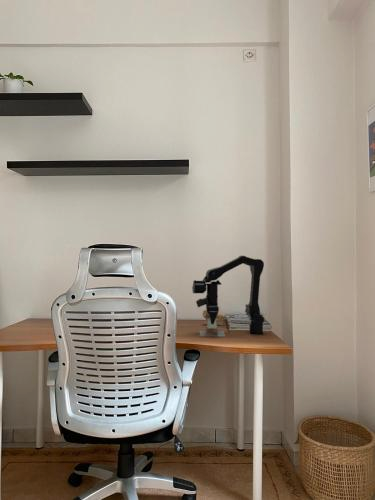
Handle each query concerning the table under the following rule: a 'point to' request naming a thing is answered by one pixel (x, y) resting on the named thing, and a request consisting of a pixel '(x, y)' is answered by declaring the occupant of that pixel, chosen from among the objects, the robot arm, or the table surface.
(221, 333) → the slate pad
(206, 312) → the lion figurine
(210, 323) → the sage cube
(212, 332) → the walnut block
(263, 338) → the table surface
